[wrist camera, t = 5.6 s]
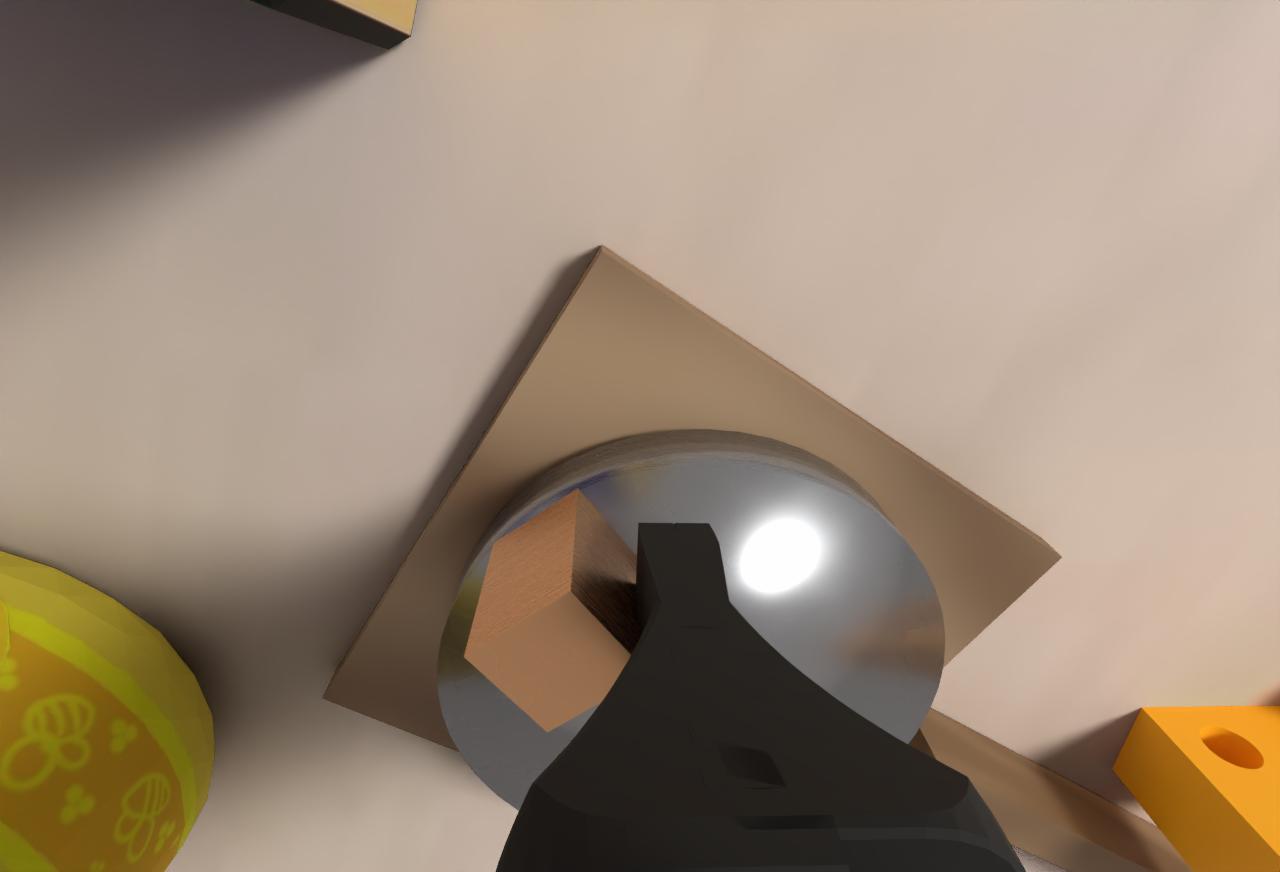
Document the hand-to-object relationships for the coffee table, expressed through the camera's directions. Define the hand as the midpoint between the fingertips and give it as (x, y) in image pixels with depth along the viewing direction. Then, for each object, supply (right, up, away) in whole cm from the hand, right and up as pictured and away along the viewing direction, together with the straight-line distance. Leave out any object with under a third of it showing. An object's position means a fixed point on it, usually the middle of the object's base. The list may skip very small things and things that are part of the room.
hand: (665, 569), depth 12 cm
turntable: (+1, -2, +4) cm, 5 cm away
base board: (+1, -2, +5) cm, 5 cm away
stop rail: (+16, -11, +10) cm, 21 cm away
